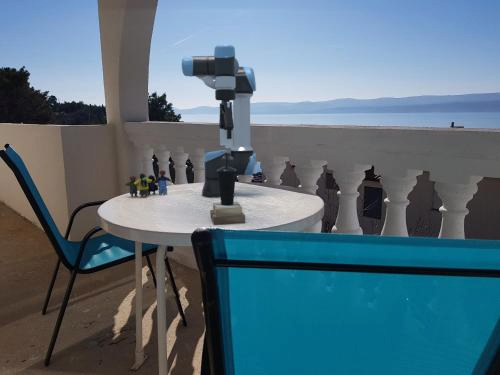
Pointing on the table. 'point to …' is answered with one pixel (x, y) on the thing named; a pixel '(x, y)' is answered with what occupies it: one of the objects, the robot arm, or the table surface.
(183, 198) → the table surface
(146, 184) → the doll family
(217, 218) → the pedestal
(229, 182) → the drinking cup
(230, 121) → the robot arm
